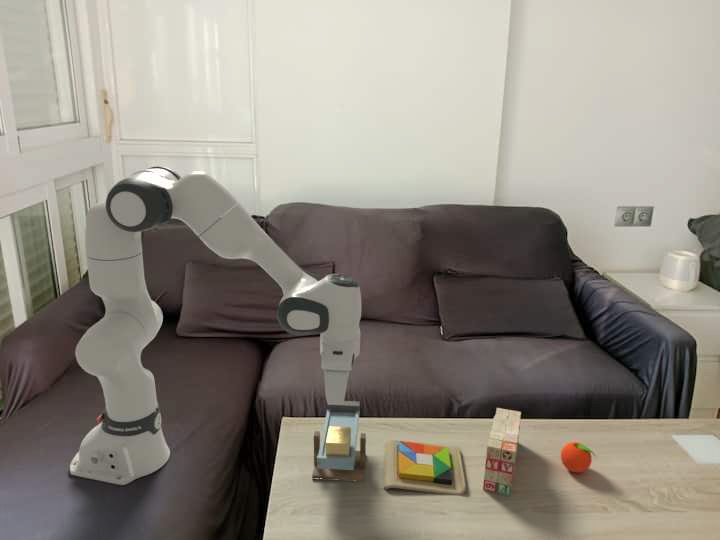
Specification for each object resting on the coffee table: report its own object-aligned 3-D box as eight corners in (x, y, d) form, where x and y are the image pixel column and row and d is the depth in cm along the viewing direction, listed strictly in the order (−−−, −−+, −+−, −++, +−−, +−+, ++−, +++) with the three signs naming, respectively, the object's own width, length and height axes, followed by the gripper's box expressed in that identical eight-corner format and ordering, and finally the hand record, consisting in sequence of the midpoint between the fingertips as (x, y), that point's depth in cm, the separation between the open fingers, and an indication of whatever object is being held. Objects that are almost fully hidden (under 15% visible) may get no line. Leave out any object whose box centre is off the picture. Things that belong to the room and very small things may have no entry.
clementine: (595, 467, 138) (600, 442, 136) (592, 484, 132) (596, 458, 130) (561, 456, 142) (565, 432, 139) (556, 473, 136) (560, 447, 134)
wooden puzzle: (466, 497, 128) (467, 484, 127) (382, 492, 129) (383, 480, 128) (458, 449, 145) (459, 437, 144) (384, 445, 146) (384, 434, 145)
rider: (329, 444, 130) (329, 426, 129) (351, 445, 130) (351, 427, 128) (326, 461, 125) (325, 442, 123) (348, 463, 124) (349, 443, 123)
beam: (328, 411, 145) (328, 400, 144) (359, 412, 145) (359, 401, 143) (317, 468, 124) (316, 456, 123) (353, 470, 124) (353, 458, 123)
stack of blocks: (493, 437, 149) (498, 396, 145) (518, 442, 147) (523, 401, 143) (482, 490, 130) (487, 445, 126) (510, 497, 128) (516, 451, 124)
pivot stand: (317, 452, 142) (316, 421, 139) (366, 454, 141) (366, 423, 139) (311, 479, 133) (311, 446, 130) (364, 481, 132) (364, 449, 129)
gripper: (330, 325, 136) (329, 376, 141) (320, 366, 117) (319, 423, 122) (357, 326, 136) (355, 377, 141) (350, 368, 117) (348, 425, 121)
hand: (338, 399), depth 131 cm, fingers closed
